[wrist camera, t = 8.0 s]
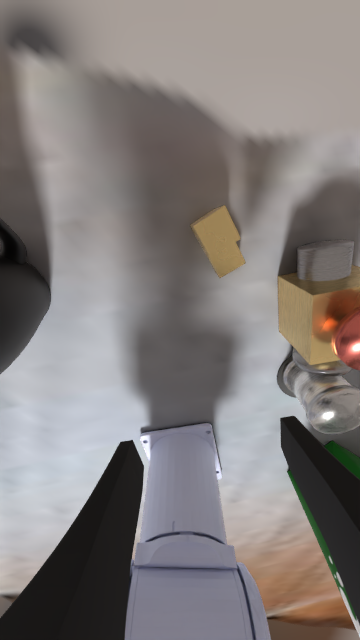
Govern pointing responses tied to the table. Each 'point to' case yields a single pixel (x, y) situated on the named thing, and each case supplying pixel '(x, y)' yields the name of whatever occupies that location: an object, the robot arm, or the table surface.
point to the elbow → (219, 240)
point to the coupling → (324, 399)
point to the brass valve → (322, 308)
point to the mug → (18, 297)
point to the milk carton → (356, 467)
